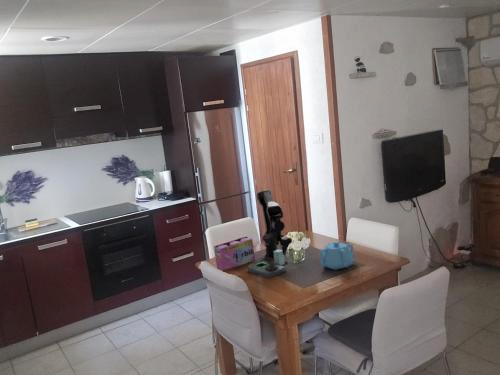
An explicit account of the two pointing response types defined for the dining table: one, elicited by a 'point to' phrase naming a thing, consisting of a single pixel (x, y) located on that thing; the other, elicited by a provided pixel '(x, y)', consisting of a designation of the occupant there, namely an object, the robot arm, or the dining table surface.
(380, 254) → the dining table surface
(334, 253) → the decorative pot
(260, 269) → the panel
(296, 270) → the dining table surface
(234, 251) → the gum box
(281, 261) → the plug
